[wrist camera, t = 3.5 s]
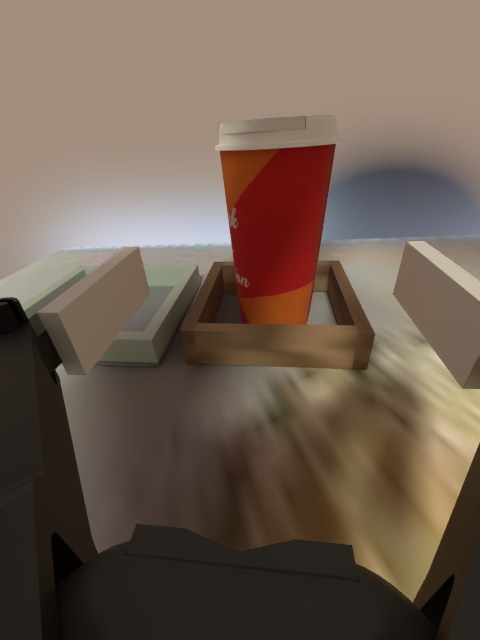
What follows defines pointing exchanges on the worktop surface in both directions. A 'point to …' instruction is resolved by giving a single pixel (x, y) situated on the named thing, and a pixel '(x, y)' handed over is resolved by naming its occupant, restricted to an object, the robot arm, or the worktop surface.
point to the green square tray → (139, 313)
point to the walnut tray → (278, 328)
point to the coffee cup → (276, 210)
